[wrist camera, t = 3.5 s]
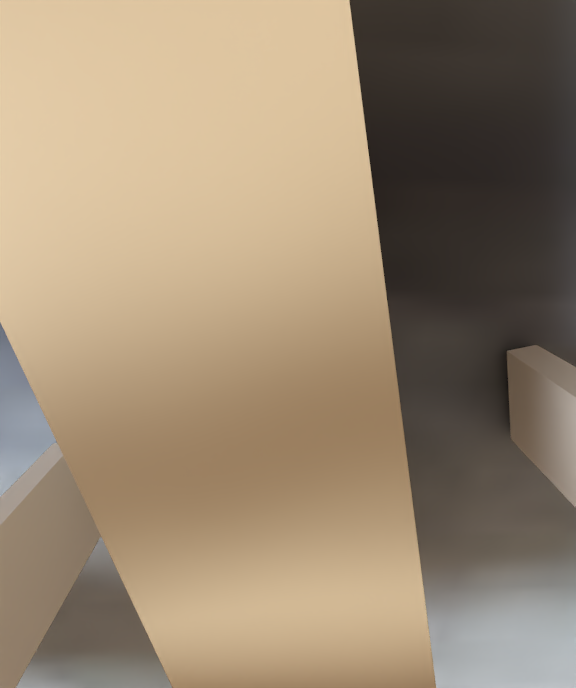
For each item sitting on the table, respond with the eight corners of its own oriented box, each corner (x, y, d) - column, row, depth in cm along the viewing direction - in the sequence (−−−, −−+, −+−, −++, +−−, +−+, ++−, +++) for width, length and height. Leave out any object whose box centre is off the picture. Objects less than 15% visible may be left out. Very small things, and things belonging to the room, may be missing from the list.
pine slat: (53, -117, 8) (-669, -1100, 2) (258, -177, 7) (157, -1530, 2) (264, 576, 13) (247, 848, 8) (382, 558, 13) (453, 825, 8)
